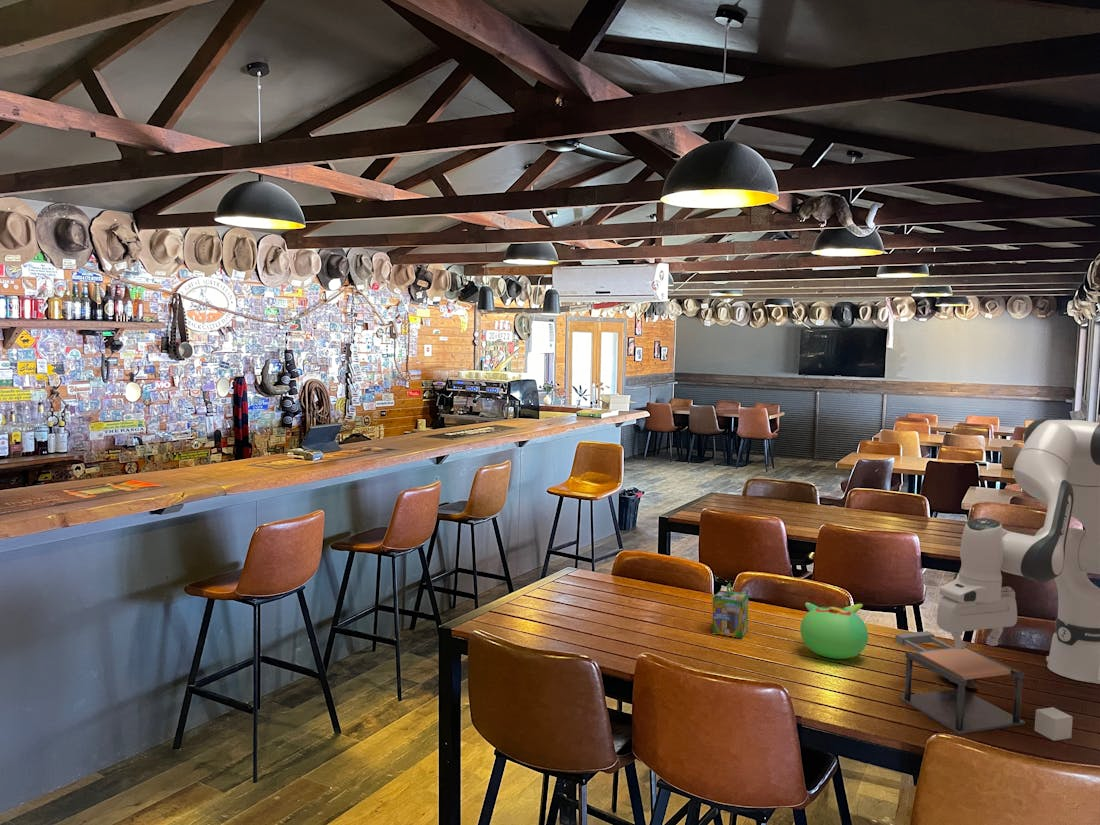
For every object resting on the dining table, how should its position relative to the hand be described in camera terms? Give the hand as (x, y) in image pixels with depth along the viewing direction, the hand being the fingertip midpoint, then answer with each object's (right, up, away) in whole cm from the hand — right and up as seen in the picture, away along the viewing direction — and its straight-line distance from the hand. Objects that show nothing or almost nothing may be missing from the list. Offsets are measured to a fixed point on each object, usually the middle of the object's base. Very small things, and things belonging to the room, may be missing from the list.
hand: (976, 646), depth 187 cm
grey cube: (+14, -18, -6) cm, 24 cm away
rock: (+7, -16, +22) cm, 28 cm away
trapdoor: (-3, -5, +9) cm, 11 cm away
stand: (-1, -17, +5) cm, 17 cm away
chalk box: (-45, -12, +56) cm, 73 cm away
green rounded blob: (-20, -14, +39) cm, 46 cm away
